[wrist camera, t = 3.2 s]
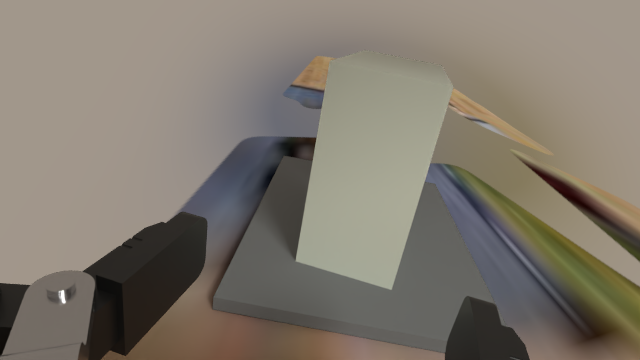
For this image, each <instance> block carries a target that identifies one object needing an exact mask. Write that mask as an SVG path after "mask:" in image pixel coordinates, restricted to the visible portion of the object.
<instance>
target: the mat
mask: <svg viewBox="0 0 640 360" xmlns="http://www.w3.org/2000/svg"><path fill="white" fill-rule="evenodd" d="M312 162H313V161H310V160H304V159H299V158H294V157H288V156H283V158H282V160H281V162H280V164H279V166H278V168H277V170H276V172H275V174H274V176H273V178H272V180H271V182H270V184H269V186H268V188H267V190H266V192H265V194H264V196H263V198H262V201H261V203H260V205H259V207H258V209H257V211H256V213H255V215H254V217H253V219H252V221H251V223H250V225H249V227H248V229H247V231H246V233H245V235H244V237H243V239H242V241H241V243H240V245H239V247H238V249H237V251H236V253H235V255H234V257H233V259H232V261H231V263H230V265H229V267H228V269H227V271H226V273H225V275H224V277H223V279H222V281H221V283H220V285H219V287H218V289H217V291H216V293H215V295H214V297H213V309H214V310H219V311H225V312H230V313H235V314H241V315H246V316H251V317H257V318H262V319H267V320H273V321H278V322H283V323H288V324H294V325H299V326H304V327H310V328H315V329H320V330H326V331H331V332H336V333H342V334H347V335H352V336H358V337H363V338H368V339H374V340H379V341H384V342H389V343H395V344H400V345H405V346H411V347H416V348H421V349H427V350H432V351H437V352H443V353H445V351H446V345H447V340H448V337H449V334H450V332H451V329H452V327H453V325H454V322H455V320H456V317H457V315H458V312H459V310H460V307H461V305H462V302H463V300H464V298H465V297H466V296H470V297H473V298H477V299H480V300H484V301H487V302H490V303H494V304H495V302H494V300H493V298H492V296H491V294H490V292H489V290H488V288H487V286H486V284H485V282H484V280H483V278H482V276H481V274H480V272H479V270H478V268H477V266H476V264H475V262H474V260H473V258H472V256H471V254H470V252H469V250H468V248H467V246H466V244H465V242H464V240H463V238H462V236H461V234H460V232H459V230H458V228H457V226H456V224H455V222H454V220H453V218H452V216H451V214H450V212H449V210H448V208H447V207H446V205H445V203H444V201H443V199H442V197H441V195H440V193H439V191H438V189H437V187H436V185H435V184H433V183H428V182H424V185H423V188H422V192H421V195H420V198H419V202H418V205H417V208H416V211H415V215H414V218H413V221H412V225H411V228H410V231H409V234H408V238H407V241H406V244H405V248H404V251H403V254H402V257H401V261H400V264H399V267H398V271H397V274H396V277H395V280H394V284H393V287H392V290H390V289H387V288H383V287H380V286H377V285H373V284H370V283H367V282H363V281H360V280H357V279H353V278H350V277H347V276H343V275H340V274H337V273H333V272H330V271H327V270H323V269H320V268H317V267H313V266H310V265H307V264H303V263H300V262H297V261H296V255H297V249H298V244H299V238H300V232H301V226H302V220H303V215H304V209H305V203H306V197H307V191H308V185H309V180H310V174H311V168H312ZM495 305H496V304H495ZM496 307H497V306H496ZM497 310H498V308H497ZM498 314H499V317H500V321H501V325H503V326H506V327H507V325H506V323H505V321H504V319H503V317H502V315H501V313H500V311H499V310H498Z"/></svg>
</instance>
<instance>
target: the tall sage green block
mask: <svg viewBox="0 0 640 360" xmlns="http://www.w3.org/2000/svg"><path fill="white" fill-rule="evenodd" d="M453 87H454V86H453V84H452V82H451V81H450V79H449V77H448V75H447V73H446V72H445V70H444V68H443V66H442V65H438V64H433V63H428V62H423V61H418V60H413V59H408V58H403V57H397V56H392V55H387V54H382V53H377V52H372V51H367V50H364V51H361V52H358V53H355V54H351V55H348V56H345V57H341V58H338V59H335V60H331V61H330V64H329V69H328V75H327V81H326V87H325V93H324V98H323V104H322V110H321V116H320V122H319V127H318V133H317V139H316V145H315V151H314V156H313V162H312V168H311V174H310V180H309V185H308V191H307V197H306V203H305V209H304V215H303V220H302V226H301V232H300V238H299V244H298V249H297V255H296V261H297V262H300V263H303V264H307V265H310V266H313V267H317V268H320V269H323V270H327V271H330V272H333V273H337V274H340V275H343V276H347V277H350V278H353V279H357V280H360V281H363V282H367V283H370V284H373V285H377V286H380V287H383V288H387V289H390V290H392V287H393V284H394V280H395V277H396V274H397V271H398V267H399V264H400V261H401V257H402V254H403V251H404V248H405V244H406V241H407V238H408V234H409V231H410V228H411V225H412V221H413V218H414V215H415V211H416V208H417V205H418V202H419V198H420V195H421V192H422V188H423V185H424V182H425V179H426V175H427V172H428V169H429V166H430V162H431V159H432V156H433V152H434V149H435V145H436V142H437V139H438V136H439V133H440V129H441V126H442V123H443V119H444V116H445V113H446V110H447V106H448V103H449V100H450V97H451V93H452V90H453Z"/></svg>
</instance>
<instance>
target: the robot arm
mask: <svg viewBox="0 0 640 360" xmlns="http://www.w3.org/2000/svg"><path fill="white" fill-rule="evenodd" d="M206 240H207V220H206V219H205V218H203V217H200V216H196V215H193V214H189V213H186V212H181V213H179V214H178V215H176V216H175V217H173V218H172V219H171V220H169V221H168V222H167V223H164V222H161V223H158V224H155V225H152V226H149V227H146V228H144V229H143V230H141V231H140V232H139V233H137V234H136V235H134V236H133V238H132V239H129V240H127V241H126V242H124V243H123V244H122V246H119V247H117V248H116V249H114V250H113V251H111V252H110V253H108V254H107V255H106V256H104V257H103V258H101V259H100V260H98V261H97V262H96V263H94V264H93V265H91V266H90V267H88V268H87V269H85V270H84V271H83V272H81V271H62V272H57V273H53V274H50V275H47V276H45V277H42V278H41V279H39V280H37V281H36V282H34V283H33V284H32V285H20V284H4V283H0V360H101V358H102V357H103V356H104V355H105V354H106V353H107V352H108V351H109V350H111V351H113V352H116V353H119V354H121V355H124V356H126V355H127V354H128V353H129V352H130V350H131V349H132V348H133V347H134V346H135V345H136V344H137V343H138V342H139V341H140V340H141V339H142V337H143V336H144V335H145V334H146V333H147V332H148V331H149V330H150V329H151V328H152V327H153V326H154V325H155V323H156V322H157V321H158V320H159V319H160V318H161V317H162V316H163V315H164V314H165V313H166V312H167V310H168V309H169V308H170V307H171V306H172V305H173V304H174V303H175V302H176V301H177V300H178V299H179V297H180V296H181V295H182V294H183V293H184V292H185V291H186V290H187V289H188V288H189V287H190V286H191V285H192V283H193V282H194V281H195V280H196V279H197V278H198V277H199V275H200V273H201V271H202V269H203V267H204V263H205V256H206ZM445 360H530V359H529V356H528V353H527V350H526V347H525V344H524V343H523V342H522V341H521V339H520V338H519V337H518V335H517V334H516V333H515V331H514V330H513V329H512V328H510V327H506V326H503V325H501V321H500V317H499V314H498V310H497V307H496V305H495V304H494V303H490V302H487V301H484V300H480V299H477V298H473V297H470V296H466V297H465V298H464V300H463V302H462V305H461V307H460V310H459V312H458V315H457V317H456V320H455V322H454V325H453V327H452V329H451V332H450V334H449V337H448V340H447V345H446V351H445Z"/></svg>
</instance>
